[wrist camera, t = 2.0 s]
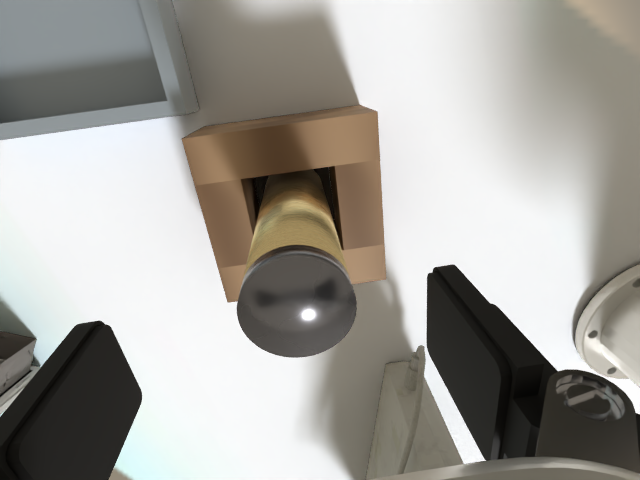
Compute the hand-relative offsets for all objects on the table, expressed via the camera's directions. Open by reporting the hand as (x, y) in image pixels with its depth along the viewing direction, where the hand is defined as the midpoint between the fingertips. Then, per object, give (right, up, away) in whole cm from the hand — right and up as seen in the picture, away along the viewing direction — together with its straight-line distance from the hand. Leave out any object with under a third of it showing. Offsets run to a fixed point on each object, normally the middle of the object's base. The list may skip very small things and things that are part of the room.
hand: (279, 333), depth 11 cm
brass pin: (-1, +6, +14) cm, 15 cm away
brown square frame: (-1, +6, +14) cm, 15 cm away
